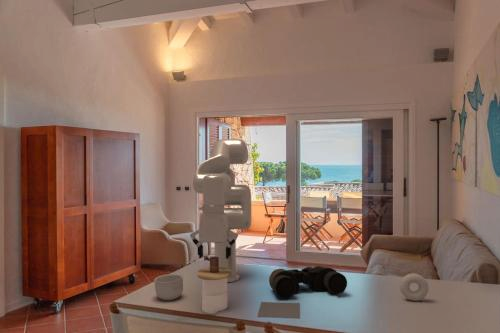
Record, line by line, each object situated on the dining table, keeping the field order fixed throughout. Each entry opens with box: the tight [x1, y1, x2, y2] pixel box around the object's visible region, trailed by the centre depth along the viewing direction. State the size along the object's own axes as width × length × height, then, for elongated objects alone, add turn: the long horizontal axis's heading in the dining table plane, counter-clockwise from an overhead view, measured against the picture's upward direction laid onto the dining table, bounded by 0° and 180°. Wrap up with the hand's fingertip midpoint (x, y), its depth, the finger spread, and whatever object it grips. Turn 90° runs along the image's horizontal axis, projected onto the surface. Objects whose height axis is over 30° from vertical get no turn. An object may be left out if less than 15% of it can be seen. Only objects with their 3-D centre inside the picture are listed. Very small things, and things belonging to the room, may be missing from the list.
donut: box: [399, 272, 430, 302], centre depth 145 cm, size 10×4×10 cm, turn 78°
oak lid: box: [196, 256, 231, 280], centre depth 139 cm, size 12×12×6 cm
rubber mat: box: [256, 301, 301, 320], centre depth 135 cm, size 14×14×1 cm
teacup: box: [153, 272, 184, 301], centre depth 152 cm, size 14×11×8 cm
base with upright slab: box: [201, 278, 228, 315], centre depth 139 cm, size 9×9×12 cm
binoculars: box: [268, 265, 348, 300], centre depth 157 cm, size 29×20×10 cm
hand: (214, 257), depth 139 cm, fingers open, 9 cm apart
